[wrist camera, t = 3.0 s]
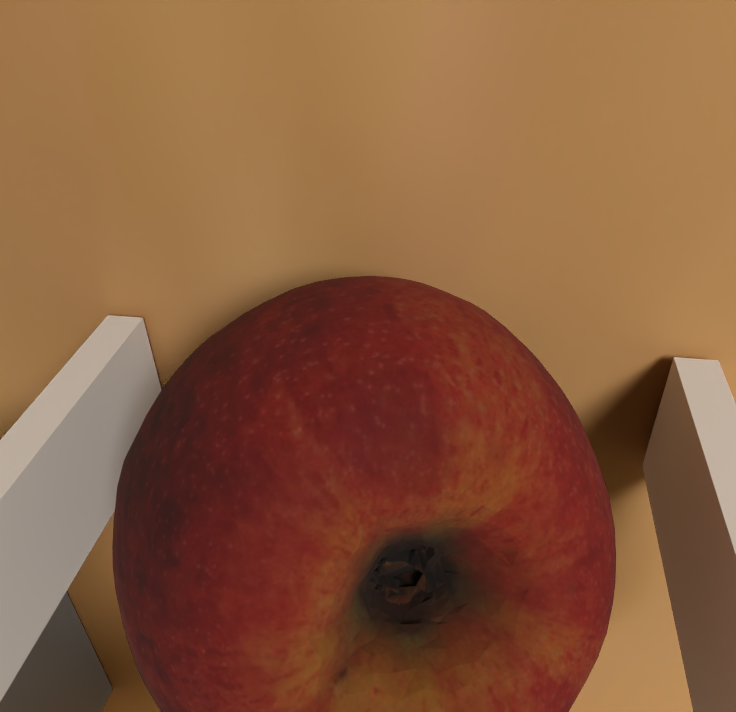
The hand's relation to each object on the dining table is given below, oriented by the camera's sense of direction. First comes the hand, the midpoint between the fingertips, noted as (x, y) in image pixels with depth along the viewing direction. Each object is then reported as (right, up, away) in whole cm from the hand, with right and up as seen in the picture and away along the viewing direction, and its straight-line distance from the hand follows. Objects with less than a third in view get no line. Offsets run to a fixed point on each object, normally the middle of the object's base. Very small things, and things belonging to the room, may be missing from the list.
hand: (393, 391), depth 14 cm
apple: (0, 0, 0) cm, 0 cm away
